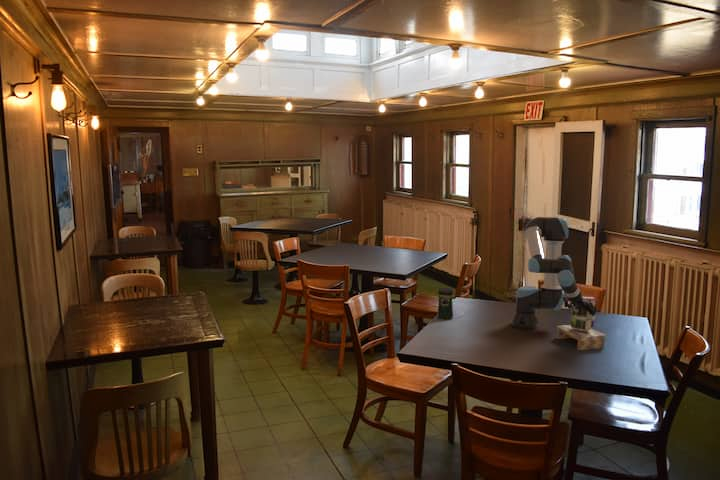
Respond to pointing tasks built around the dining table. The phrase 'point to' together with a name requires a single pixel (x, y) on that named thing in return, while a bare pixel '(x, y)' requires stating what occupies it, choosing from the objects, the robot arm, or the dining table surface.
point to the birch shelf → (582, 337)
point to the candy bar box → (591, 302)
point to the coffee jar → (445, 303)
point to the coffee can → (580, 318)
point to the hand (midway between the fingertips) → (584, 316)
